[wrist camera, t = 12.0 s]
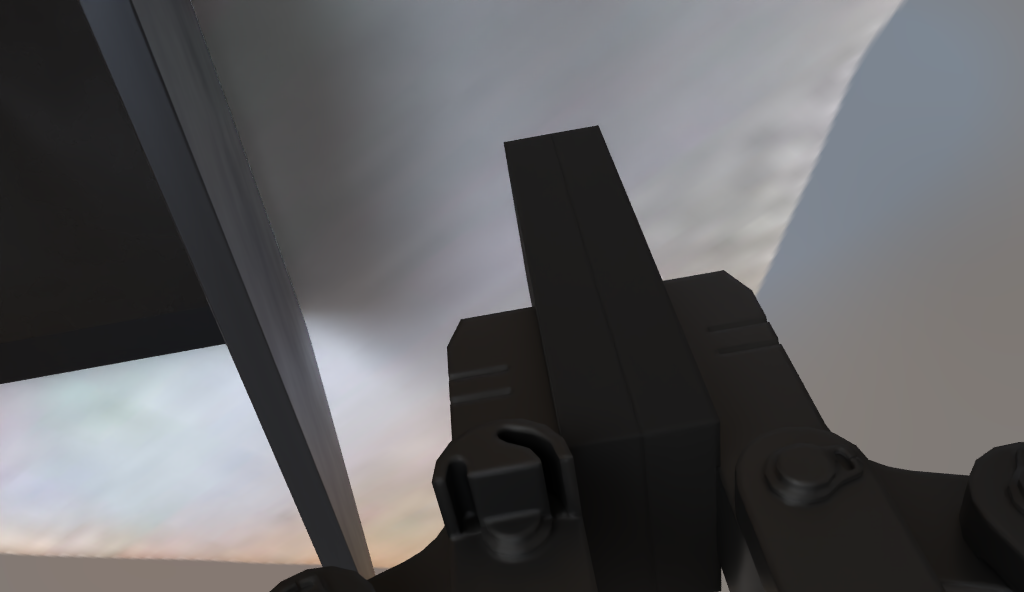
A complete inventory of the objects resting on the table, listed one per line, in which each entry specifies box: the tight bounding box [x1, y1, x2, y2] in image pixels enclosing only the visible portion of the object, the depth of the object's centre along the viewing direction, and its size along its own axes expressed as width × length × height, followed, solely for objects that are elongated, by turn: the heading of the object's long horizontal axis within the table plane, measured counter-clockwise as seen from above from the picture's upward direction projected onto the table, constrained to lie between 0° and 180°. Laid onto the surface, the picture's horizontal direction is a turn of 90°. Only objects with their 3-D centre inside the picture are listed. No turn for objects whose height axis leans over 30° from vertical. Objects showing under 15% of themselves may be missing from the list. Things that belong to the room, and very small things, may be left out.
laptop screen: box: [77, 0, 375, 580], centre depth 27 cm, size 22×32×1 cm
